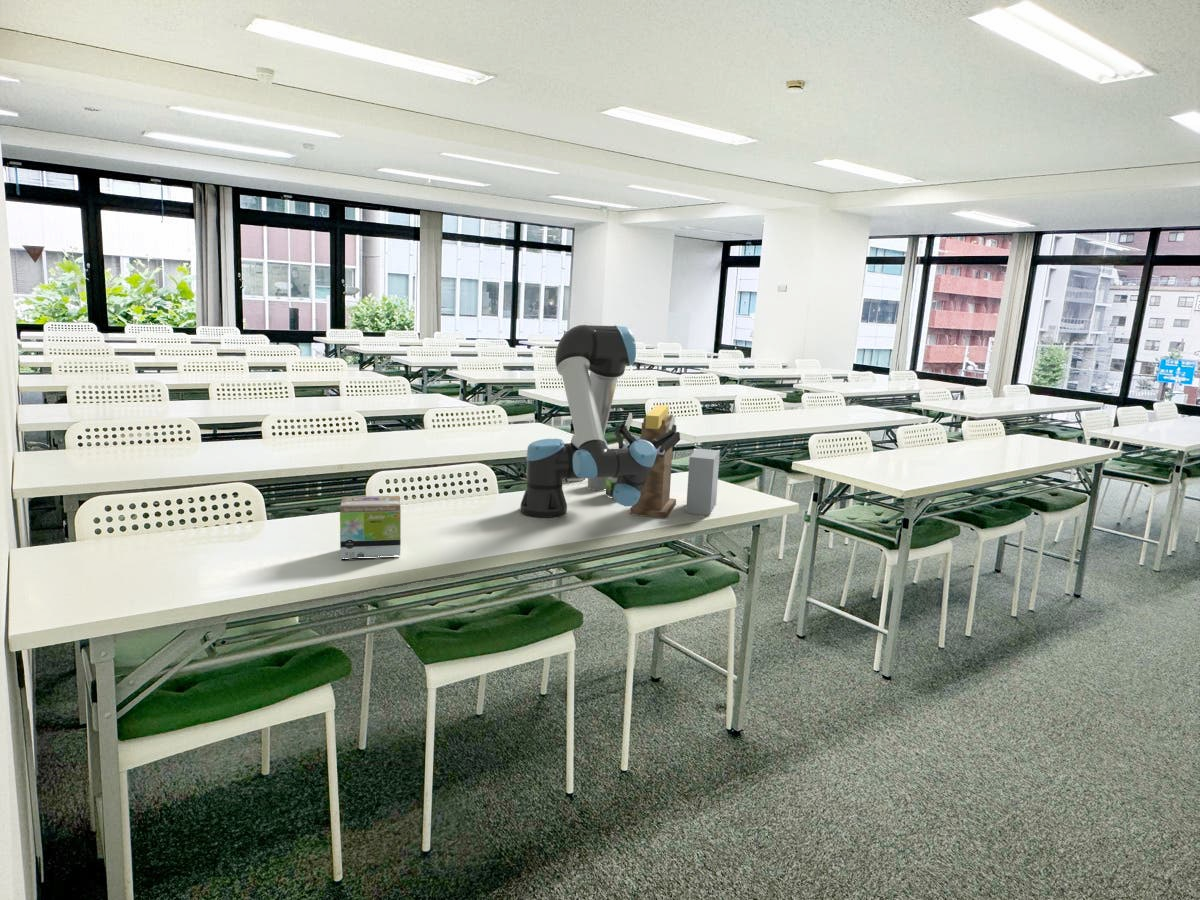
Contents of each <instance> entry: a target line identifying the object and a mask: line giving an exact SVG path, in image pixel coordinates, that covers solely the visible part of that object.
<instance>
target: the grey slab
mask: <svg viewBox="0 0 1200 900" xmlns="http://www.w3.org/2000/svg"><path fill="white" fill-rule="evenodd" d="M720 453H721V450H719V449H718V450H717V449H708V448H707V449H706V448H695V450H694V451H693V452H692V454H691V455H690V456H689V458H688V459H689V462H688V476H687V478H688V479H687V488H686V489H687V492H686V508H685V509H686V510H685V514H691V513H694V514H693V515H700V516H701V515H702V516H709V515H710V514H711V515H712V513H713V511H714V509H715V507H716V505H717V495H718V484H719V483H718V481H719V470H720V469H719V466H720V455H721V454H720ZM715 504H716V505H715ZM714 506H715V507H714ZM713 508H714V509H713ZM712 510H713V511H712ZM711 512H712V513H711ZM711 515H710V516H711Z"/></svg>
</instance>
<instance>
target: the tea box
mask: <svg viewBox="0 0 1200 900" xmlns="http://www.w3.org/2000/svg"><path fill="white" fill-rule="evenodd" d="M401 509H402V508H401V498H400V495H376V496H374V495H372V496H370V495H368V496H363V495H362V496H341V502H340V506H339V525H340V526H339V527H340V528H339V529H340V530H339V531H340V532H339V534H340V535H339V536H340V537H339V538H340V541H339V543H340V544H339V545H340V546H339V549H340V551H339V552H340V559H341V558H342V559H343V558H344V559H345V558H358V557H378V556H379V557H380V556H394V555H400V556H401V543H402V542H401V541H402V540H401V538H402V537H401V534H402V533H401V532H402V531H401V524H402V523H401V521H402V520H401V514H402V513H401V512H402V511H401Z"/></svg>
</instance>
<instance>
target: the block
mask: <svg viewBox="0 0 1200 900" xmlns="http://www.w3.org/2000/svg"><path fill="white" fill-rule="evenodd" d="M667 416H669V405H666V404H665V405H664V404H663V405H662V404H656V405H655V406H654V407H653V408H652V409H651V410H650V411H649V412H647V414H646V415H645V418H646V424H645V428H649V429H659V428H660V426H661V425H662V420H663V419H664V418H666V417H667Z"/></svg>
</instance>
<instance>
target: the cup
mask: <svg viewBox="0 0 1200 900" xmlns="http://www.w3.org/2000/svg"><path fill="white" fill-rule="evenodd" d="M606 478H607V477H598V478H587V488H588V489H589V488H590V489H589V490H591V489H595V490H594V491H598V490H604V489H606ZM604 491H605V490H604Z"/></svg>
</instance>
